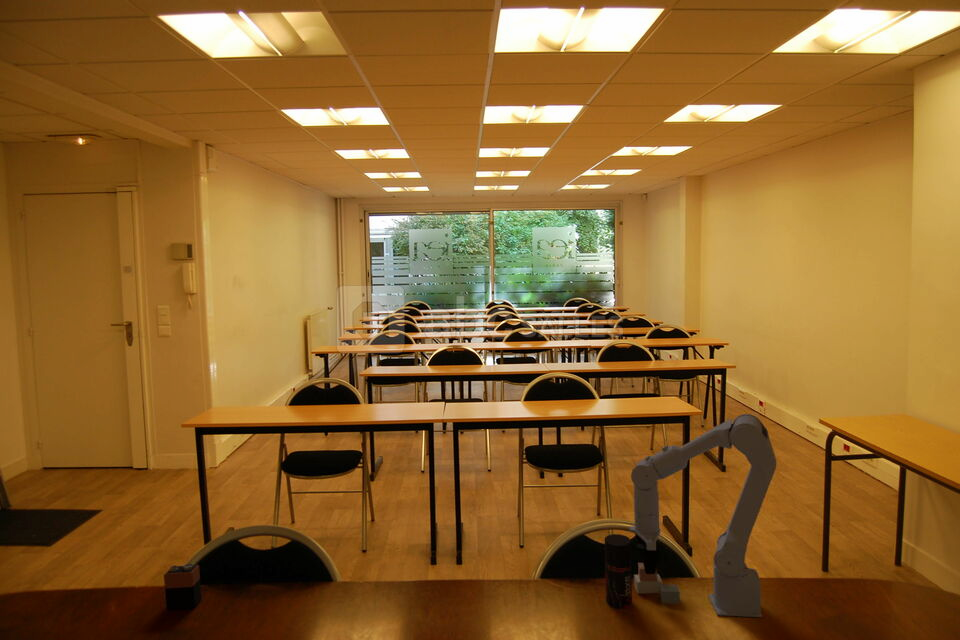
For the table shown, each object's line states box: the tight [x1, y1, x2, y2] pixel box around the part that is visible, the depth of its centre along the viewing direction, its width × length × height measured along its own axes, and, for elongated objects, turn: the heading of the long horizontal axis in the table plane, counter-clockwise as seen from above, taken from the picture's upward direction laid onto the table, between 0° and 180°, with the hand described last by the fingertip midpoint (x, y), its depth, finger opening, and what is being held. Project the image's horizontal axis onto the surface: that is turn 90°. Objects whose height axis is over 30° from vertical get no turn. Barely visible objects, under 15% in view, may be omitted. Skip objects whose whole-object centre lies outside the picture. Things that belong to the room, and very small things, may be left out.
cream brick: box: [633, 573, 663, 594], centre depth 138 cm, size 6×4×3 cm, turn 88°
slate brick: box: [659, 584, 681, 605], centre depth 133 cm, size 4×3×3 cm
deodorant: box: [604, 533, 633, 610], centre depth 133 cm, size 6×6×15 cm
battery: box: [163, 563, 203, 611], centre depth 139 cm, size 4×7×10 cm, turn 93°
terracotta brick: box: [637, 562, 658, 582], centre depth 138 cm, size 4×3×3 cm
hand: (647, 565), depth 138 cm, fingers open, 7 cm apart
